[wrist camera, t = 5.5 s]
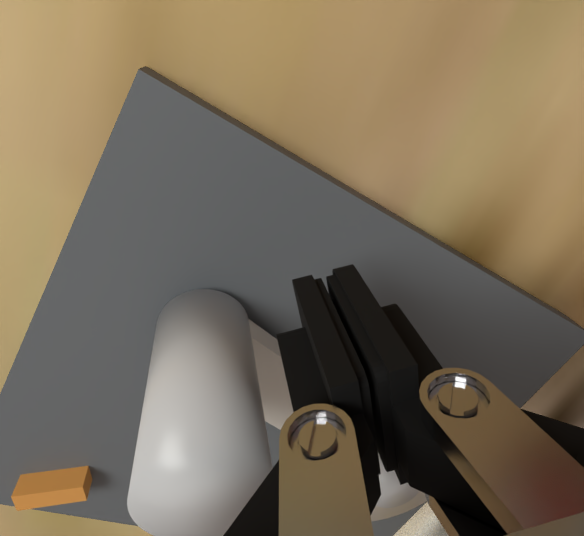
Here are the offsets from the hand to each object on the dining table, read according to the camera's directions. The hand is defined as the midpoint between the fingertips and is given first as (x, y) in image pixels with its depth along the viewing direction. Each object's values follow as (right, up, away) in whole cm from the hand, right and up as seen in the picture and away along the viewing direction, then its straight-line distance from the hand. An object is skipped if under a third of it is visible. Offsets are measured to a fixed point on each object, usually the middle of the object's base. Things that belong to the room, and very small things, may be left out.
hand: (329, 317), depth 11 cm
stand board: (-1, -4, +7) cm, 8 cm away
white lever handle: (0, -4, +5) cm, 7 cm away
